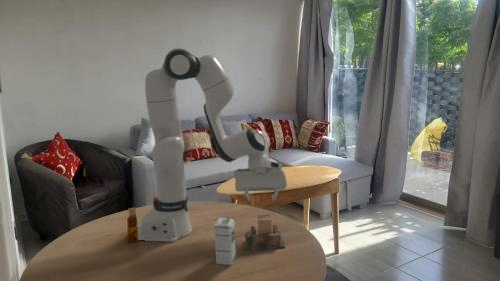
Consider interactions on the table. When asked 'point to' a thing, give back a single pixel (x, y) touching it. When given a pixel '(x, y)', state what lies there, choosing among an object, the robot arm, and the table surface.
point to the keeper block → (264, 224)
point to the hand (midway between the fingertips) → (262, 200)
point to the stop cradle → (264, 239)
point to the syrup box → (225, 241)
